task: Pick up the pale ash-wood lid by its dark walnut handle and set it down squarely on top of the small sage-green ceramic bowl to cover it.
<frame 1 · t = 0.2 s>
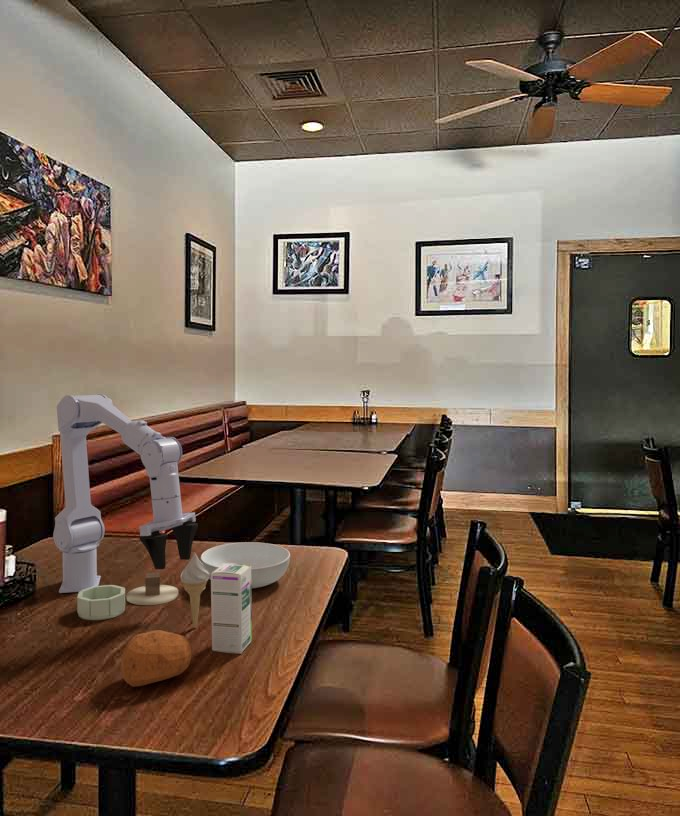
hand: (173, 564, 131), 10 cm above the table, tool pointing down, fingers open, 7 cm apart
lid: (152, 597, 142), on the table
syrup box: (231, 647, 117), on the table
bowl: (101, 611, 133), on the table
serving bowl: (245, 583, 152), on the table
ice cream cone: (194, 628, 125), on the table
potato: (157, 679, 105), on the table
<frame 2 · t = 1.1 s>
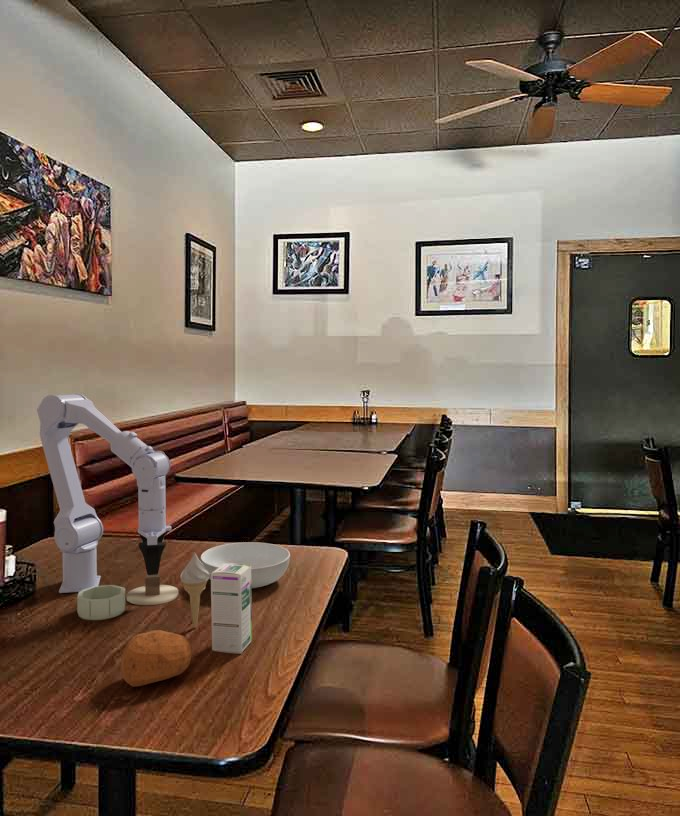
hand: (152, 569, 142), 6 cm above the table, tool pointing down, fingers open, 7 cm apart
nothing on the table moved.
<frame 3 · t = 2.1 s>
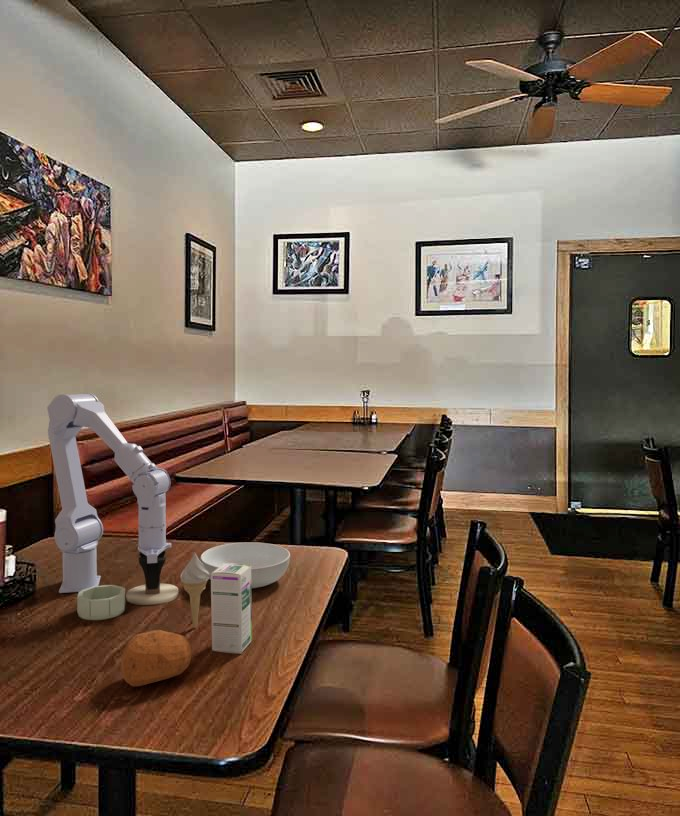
hand: (152, 586, 142), 2 cm above the table, tool pointing down, fingers closed on lid, 3 cm apart
lid: (152, 596, 142), on the table, touching gripper
everything else where it was.
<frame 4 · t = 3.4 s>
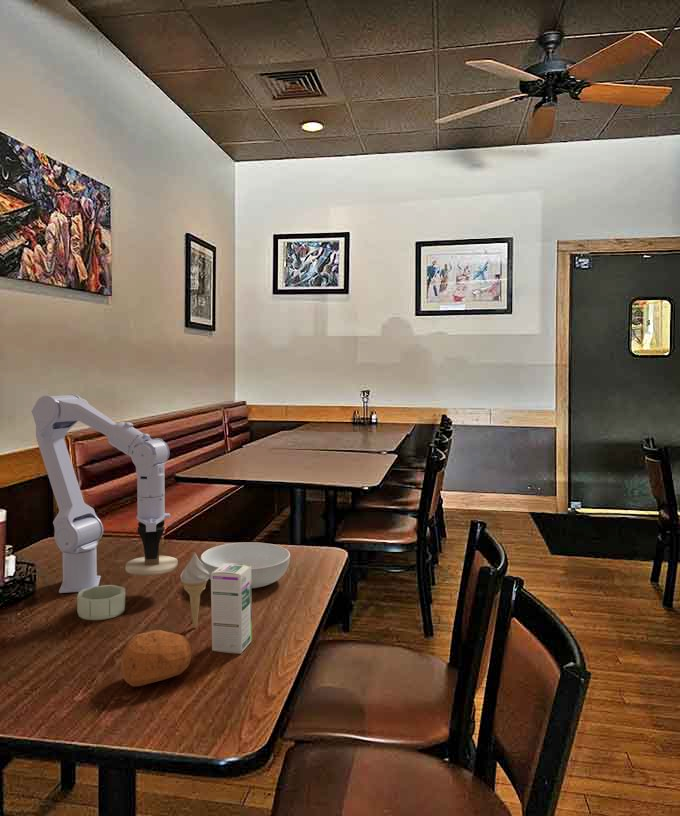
hand: (151, 556, 141), 9 cm above the table, tool pointing down, fingers closed on lid, 3 cm apart
lid: (152, 567, 141), point 6 cm above the table, touching gripper
everything else where it was.
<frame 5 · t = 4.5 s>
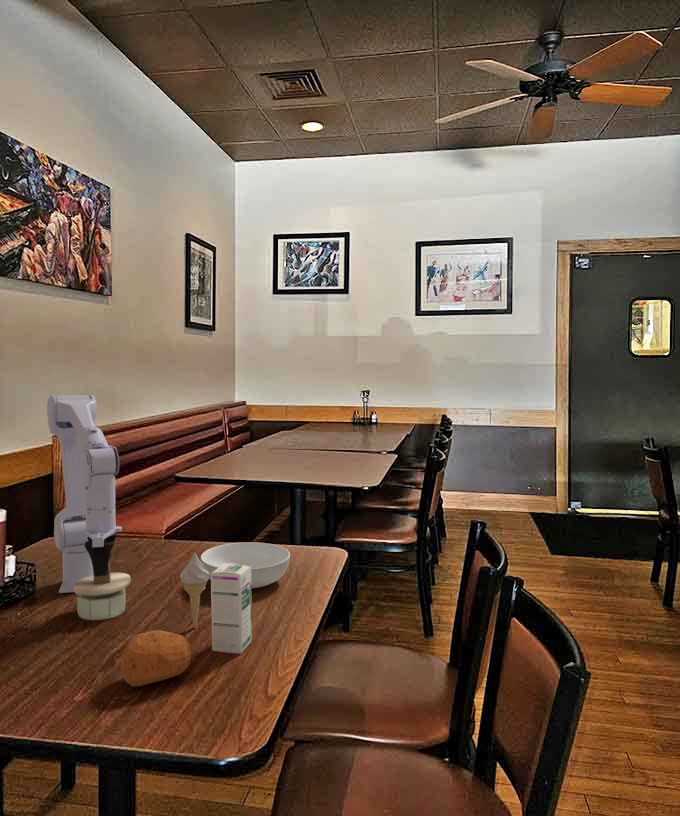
hand: (101, 572, 132), 8 cm above the table, tool pointing down, fingers closed on lid, 3 cm apart
lid: (102, 586, 132), point 5 cm above the table, touching gripper
everything else where it was.
when the fingers open (7 cm above the table, at t = 5.0 s): lid stays where it is, resting on bowl.
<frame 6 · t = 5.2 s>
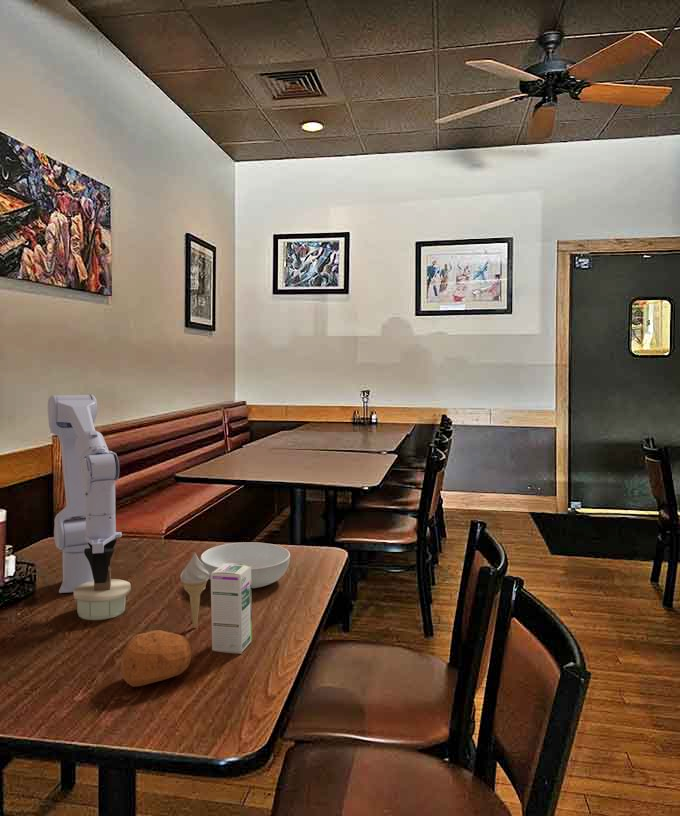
hand: (101, 578, 132), 7 cm above the table, tool pointing down, fingers open, 5 cm apart
lid: (102, 592, 132), point 4 cm above the table, touching bowl
everything else where it was.
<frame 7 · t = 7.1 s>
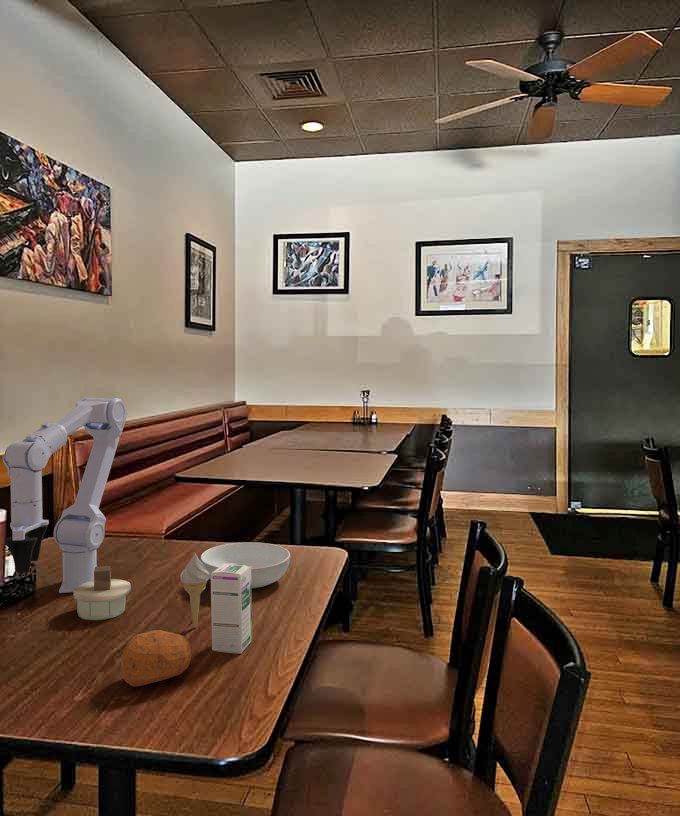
hand: (27, 566, 132), 9 cm above the table, tool pointing down, fingers open, 7 cm apart
nothing on the table moved.
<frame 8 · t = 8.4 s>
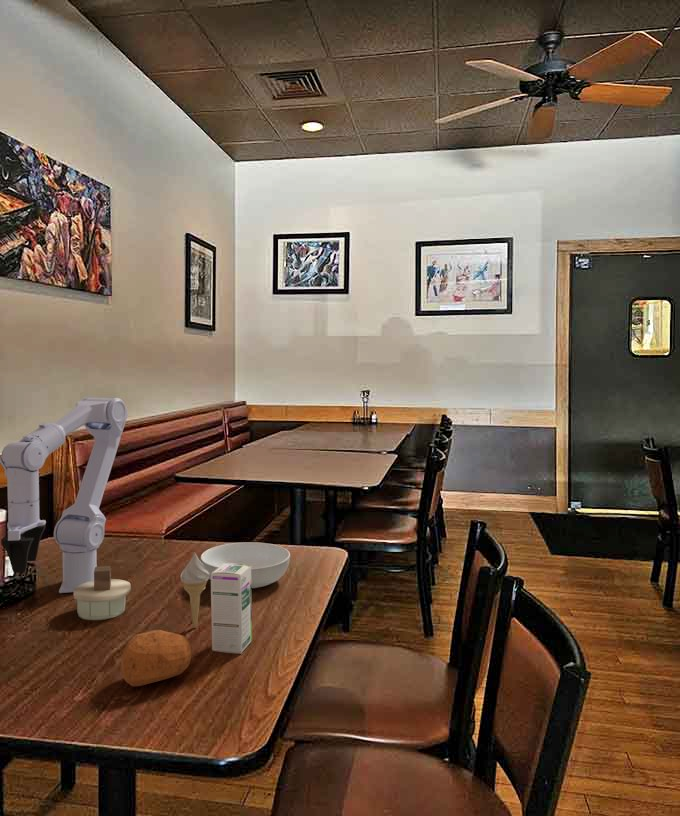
hand: (24, 566, 132), 9 cm above the table, tool pointing down, fingers open, 7 cm apart
nothing on the table moved.
at the end: lid 0.2 cm off-centre on the bowl, point 4.0 cm above the bowl's base; lid tilted 0°; the gripper is holding nothing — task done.
